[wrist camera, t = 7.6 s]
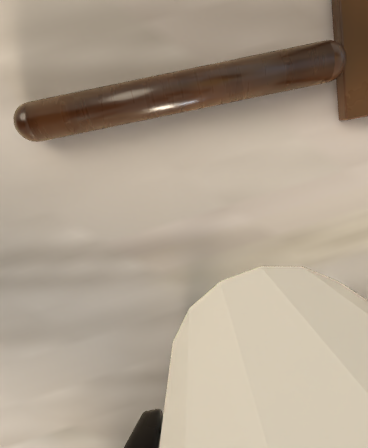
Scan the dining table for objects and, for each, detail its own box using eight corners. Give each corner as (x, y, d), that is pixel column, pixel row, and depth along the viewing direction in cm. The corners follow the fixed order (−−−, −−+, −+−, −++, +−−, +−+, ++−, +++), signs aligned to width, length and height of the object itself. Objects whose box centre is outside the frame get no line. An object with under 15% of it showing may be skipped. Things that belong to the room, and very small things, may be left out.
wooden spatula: (5, 65, 14) (-16, 57, 12) (520, -42, 13) (565, -64, 12) (42, 181, 15) (27, 186, 14) (510, 85, 15) (550, 80, 13)
